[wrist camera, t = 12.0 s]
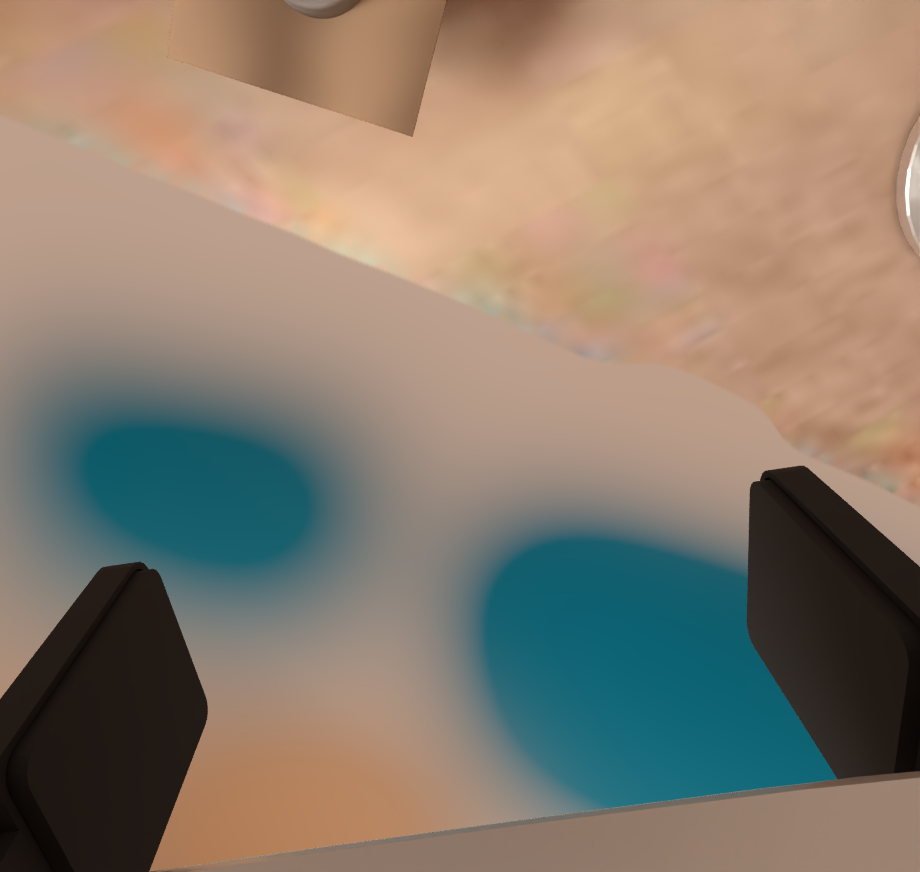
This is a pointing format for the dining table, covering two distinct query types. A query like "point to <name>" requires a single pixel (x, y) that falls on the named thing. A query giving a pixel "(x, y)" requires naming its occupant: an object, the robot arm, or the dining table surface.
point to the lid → (318, 51)
